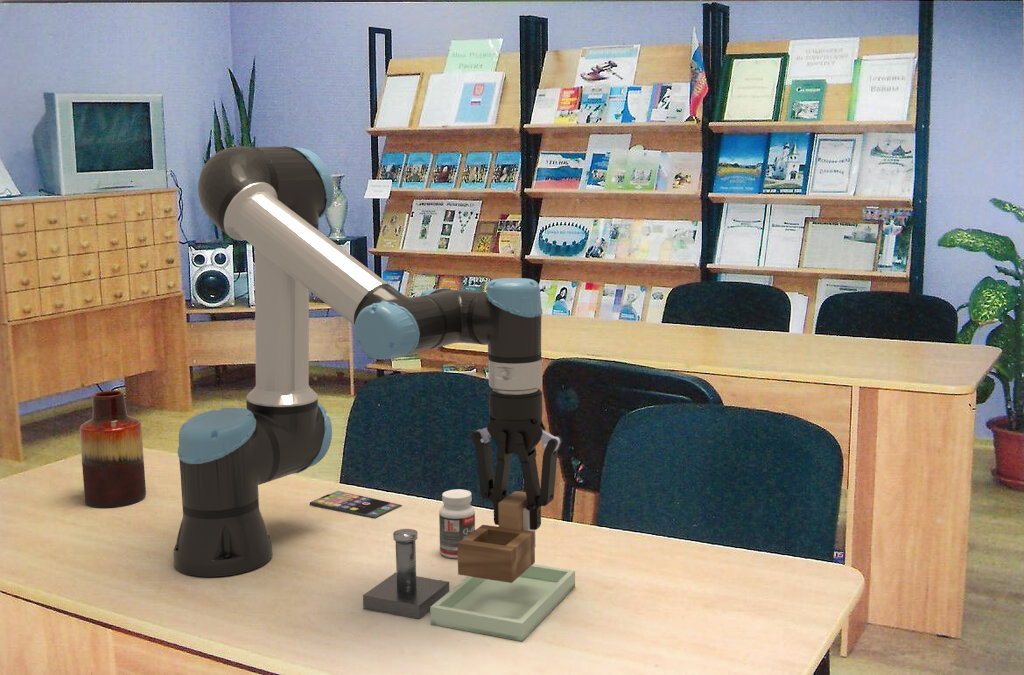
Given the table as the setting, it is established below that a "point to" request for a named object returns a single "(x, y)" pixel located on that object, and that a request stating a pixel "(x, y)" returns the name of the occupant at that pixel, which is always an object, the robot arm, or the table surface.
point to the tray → (504, 602)
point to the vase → (112, 454)
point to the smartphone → (354, 504)
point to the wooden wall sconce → (499, 545)
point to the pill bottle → (455, 520)
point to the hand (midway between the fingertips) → (517, 547)
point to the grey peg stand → (405, 584)
